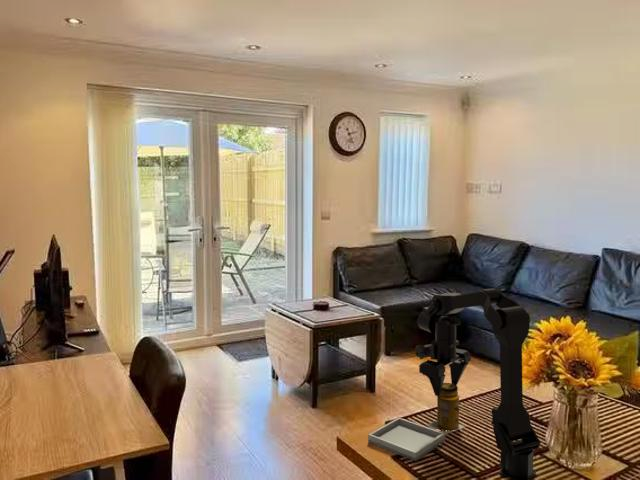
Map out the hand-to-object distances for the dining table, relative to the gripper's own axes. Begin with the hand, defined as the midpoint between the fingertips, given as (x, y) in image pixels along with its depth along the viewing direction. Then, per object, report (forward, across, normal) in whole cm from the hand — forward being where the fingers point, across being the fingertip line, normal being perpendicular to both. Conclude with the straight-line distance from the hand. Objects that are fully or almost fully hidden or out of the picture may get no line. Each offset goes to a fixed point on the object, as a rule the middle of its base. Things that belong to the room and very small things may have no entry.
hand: (445, 391), depth 153 cm
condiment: (+11, 0, 0) cm, 11 cm away
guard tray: (+10, +15, -3) cm, 19 cm away
